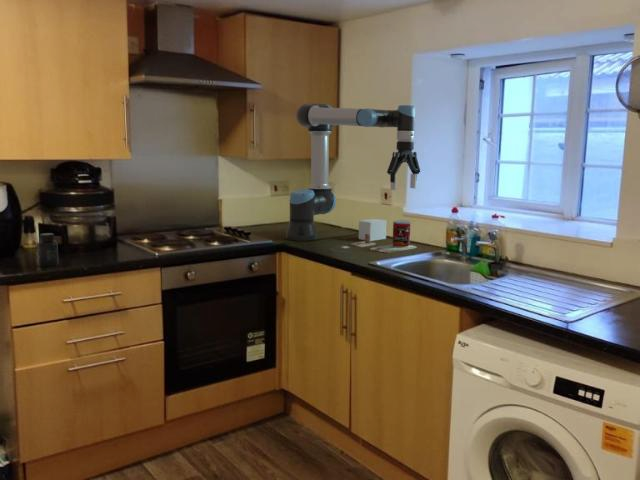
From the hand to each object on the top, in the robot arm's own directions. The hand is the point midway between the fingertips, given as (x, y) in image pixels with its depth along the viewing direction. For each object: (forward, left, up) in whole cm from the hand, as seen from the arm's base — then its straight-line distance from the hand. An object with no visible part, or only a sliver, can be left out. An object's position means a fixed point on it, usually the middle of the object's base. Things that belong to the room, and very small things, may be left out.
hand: (403, 189), depth 273 cm
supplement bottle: (-59, -135, -27) cm, 150 cm away
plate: (-15, -9, -27) cm, 32 cm away
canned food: (0, 0, -26) cm, 26 cm away
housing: (-24, +7, -27) cm, 37 cm away
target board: (0, -5, -27) cm, 27 cm away
